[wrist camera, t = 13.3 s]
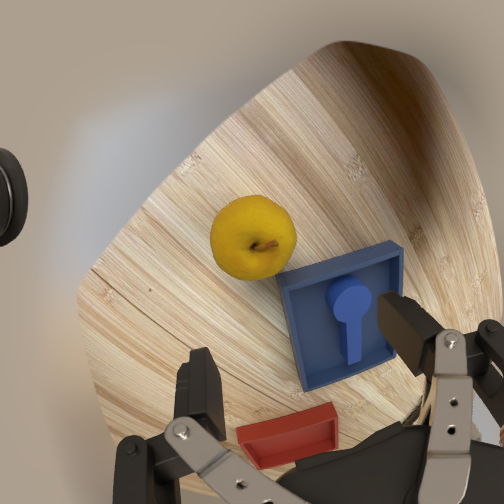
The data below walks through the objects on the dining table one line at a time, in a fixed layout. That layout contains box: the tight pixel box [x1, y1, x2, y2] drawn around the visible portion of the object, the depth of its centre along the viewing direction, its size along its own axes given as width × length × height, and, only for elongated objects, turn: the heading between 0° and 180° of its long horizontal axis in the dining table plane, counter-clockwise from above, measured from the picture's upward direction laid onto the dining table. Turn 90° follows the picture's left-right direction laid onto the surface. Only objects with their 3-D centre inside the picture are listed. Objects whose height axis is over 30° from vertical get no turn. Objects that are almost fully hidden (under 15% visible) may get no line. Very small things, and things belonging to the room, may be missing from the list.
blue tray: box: [276, 240, 404, 393], centre depth 30 cm, size 13×16×3 cm
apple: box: [210, 195, 297, 281], centre depth 21 cm, size 6×6×8 cm
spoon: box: [325, 275, 372, 365], centre depth 29 cm, size 11×4×2 cm, turn 14°
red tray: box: [236, 402, 338, 470], centre depth 38 cm, size 15×13×3 cm
